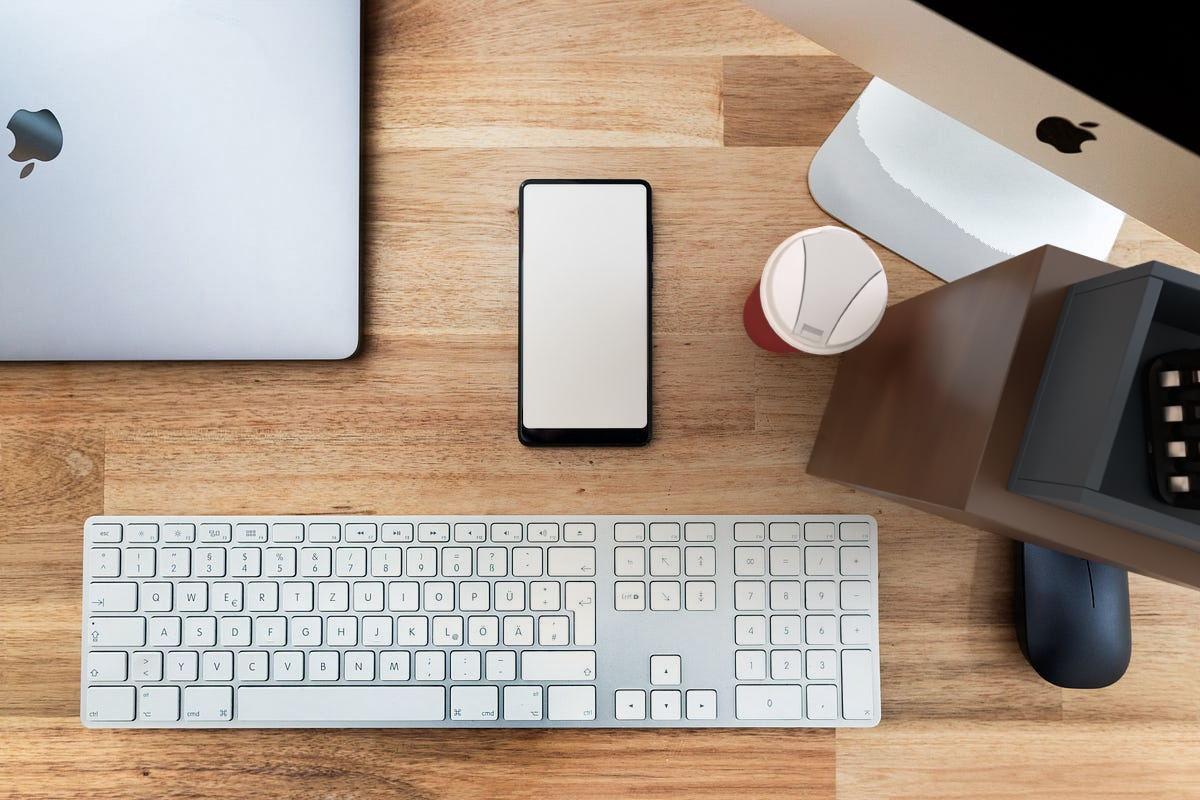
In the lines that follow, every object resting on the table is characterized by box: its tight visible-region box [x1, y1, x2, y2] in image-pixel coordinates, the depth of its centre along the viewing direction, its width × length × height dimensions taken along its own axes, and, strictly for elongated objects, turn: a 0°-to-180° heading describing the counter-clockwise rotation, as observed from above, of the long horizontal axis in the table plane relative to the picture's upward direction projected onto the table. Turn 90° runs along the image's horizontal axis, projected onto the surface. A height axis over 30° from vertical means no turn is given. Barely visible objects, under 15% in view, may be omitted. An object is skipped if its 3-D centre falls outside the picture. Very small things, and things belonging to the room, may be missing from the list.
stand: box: [805, 243, 1200, 593], centre depth 50 cm, size 12×14×28 cm
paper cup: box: [742, 224, 888, 355], centre depth 58 cm, size 8×8×14 cm
